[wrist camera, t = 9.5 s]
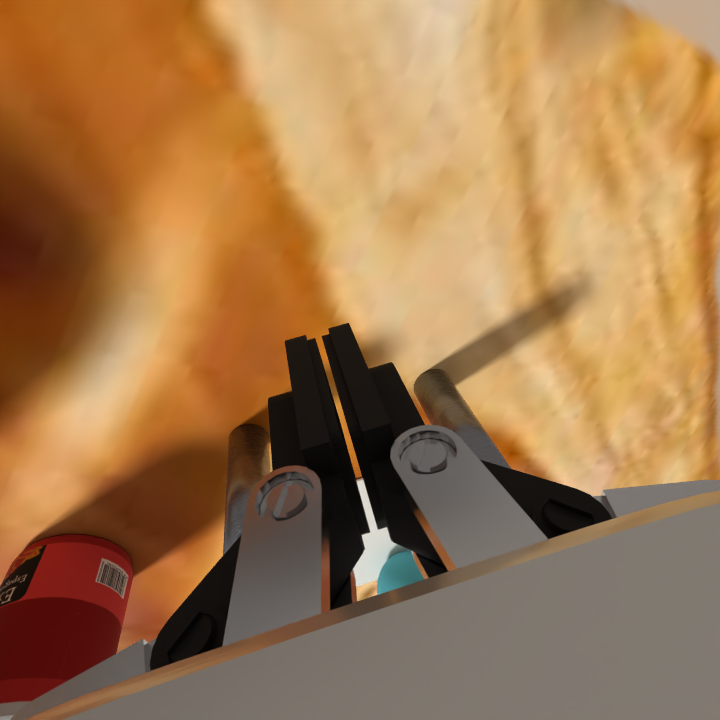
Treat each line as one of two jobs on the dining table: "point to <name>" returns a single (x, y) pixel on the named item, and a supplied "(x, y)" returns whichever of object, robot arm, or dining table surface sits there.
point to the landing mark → (373, 545)
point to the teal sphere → (398, 572)
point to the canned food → (59, 614)
